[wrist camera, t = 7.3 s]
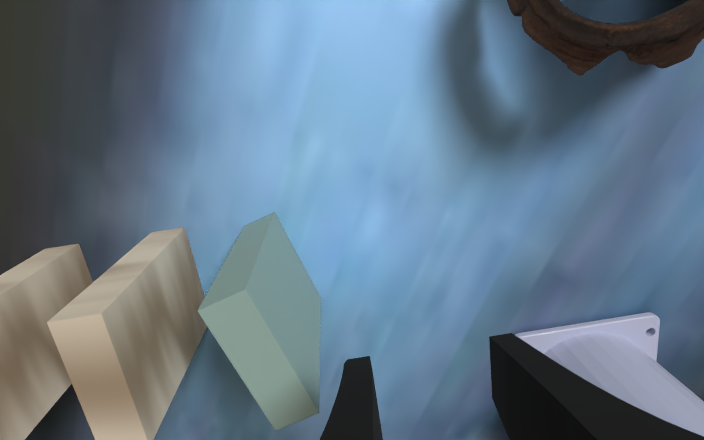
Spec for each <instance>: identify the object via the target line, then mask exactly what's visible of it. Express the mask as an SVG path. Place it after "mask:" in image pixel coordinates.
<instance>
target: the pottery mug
mask: <svg viewBox="0 0 704 440" xmlns="http://www.w3.org/2000/svg"><path fill="white" fill-rule="evenodd" d="M507 1H508V5H509V8H510V10H511V12H512V14H513V15H514V16H522V26H523V29H524V31H525V32H526V33H527V34H528V35H529V36H530V37H531V38H532V39H533V40H534V41H536V42H537V43H539V44H540V45H542V46H543V47H544V48H545V49H547V50H549V51H551V52H552V53H553V54H554V55H556V56H557V57H558V58H559V59H560V60H561V61H562V62H564V63H565V64H566V65H567V66H568V68H569V69H571V70H572V71H573V72H575V73H576V74H578V75H580V76H581V75H583V74H584V73H585V72H586V71H588V70H590V69H591V68H593V67H595V66H596V65H598V64H599V63H600V62H601V61H603V60H604V59H605V58H607V57H608V56H609V55H611V54H613V53H615V52H616V51H619V50H622V51H624V52H625V53H626V55H627V56H628V58H629V60H631V61H634V62H636V63H638V64H641V65H648V64H654V65H655V66H657V67H658V68H666V67H669V66H671V65H674V64H676V63H679V62H681V61H684V60H685V59H687V58H689V57H691V56H692V54H693V52H694V50H695V48H696V46H697V45H698V43H700V42H701V40H702V39H703V38H704V0H688V1H686V2H685V3H683V4H681V5H679V6H677V7H675V8H673V9H671V10H669V11H667V12H664V13H662V14H659V15H657V16H654V17H651V18H648V19H644V20H640V21H634V22H629V23H620V24H611V23H601V22H597V21H593V20H590V19H587V18H584V17H582V16H579V15H578V14H576V13H574V12H572V11H571V10H569V9H568V8H567V7H566V6H565V5H564V4H562V3H561V1H560V0H507Z"/></svg>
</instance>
